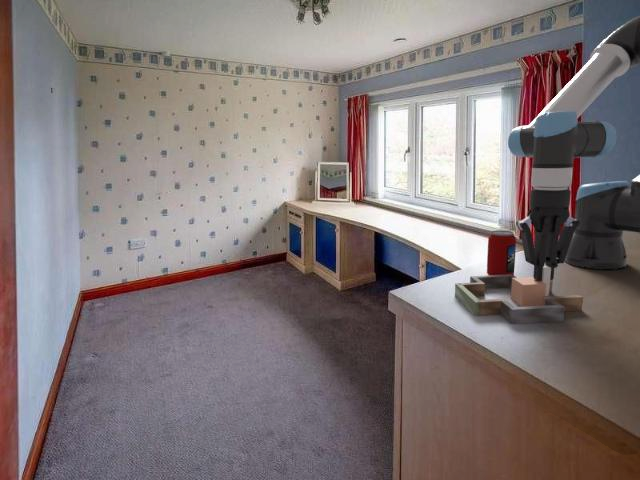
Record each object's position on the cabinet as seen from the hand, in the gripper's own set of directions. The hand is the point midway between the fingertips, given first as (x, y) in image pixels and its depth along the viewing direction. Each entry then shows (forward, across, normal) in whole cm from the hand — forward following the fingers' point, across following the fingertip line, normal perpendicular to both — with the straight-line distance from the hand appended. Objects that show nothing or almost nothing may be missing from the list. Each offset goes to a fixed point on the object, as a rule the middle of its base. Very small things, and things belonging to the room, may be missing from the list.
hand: (542, 293), depth 94 cm
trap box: (+2, +6, 0) cm, 6 cm away
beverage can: (+2, +1, -19) cm, 19 cm away
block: (+2, +3, 0) cm, 4 cm away
